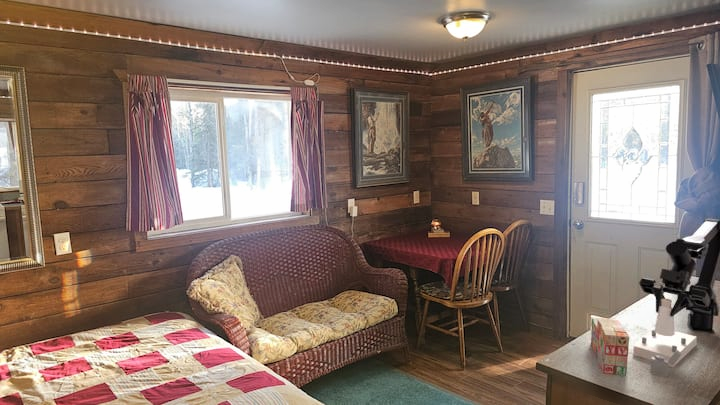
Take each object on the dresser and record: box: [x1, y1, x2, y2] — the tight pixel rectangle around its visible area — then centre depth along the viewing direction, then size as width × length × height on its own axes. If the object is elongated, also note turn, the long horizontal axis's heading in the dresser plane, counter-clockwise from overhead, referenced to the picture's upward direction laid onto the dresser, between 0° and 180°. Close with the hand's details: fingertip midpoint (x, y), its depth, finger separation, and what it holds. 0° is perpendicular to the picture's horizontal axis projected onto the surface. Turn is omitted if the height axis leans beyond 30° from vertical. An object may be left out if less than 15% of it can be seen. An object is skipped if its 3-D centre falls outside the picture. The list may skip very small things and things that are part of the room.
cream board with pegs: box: [632, 329, 697, 368], centre depth 153 cm, size 22×11×5 cm, turn 130°
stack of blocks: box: [590, 317, 630, 377], centre depth 148 cm, size 21×6×12 cm, turn 164°
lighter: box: [650, 350, 682, 377], centre depth 137 cm, size 7×2×8 cm, turn 53°
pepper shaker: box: [654, 298, 675, 336], centre depth 151 cm, size 5×5×11 cm
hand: (663, 314), depth 150 cm, fingers closed on pepper shaker, 4 cm apart
